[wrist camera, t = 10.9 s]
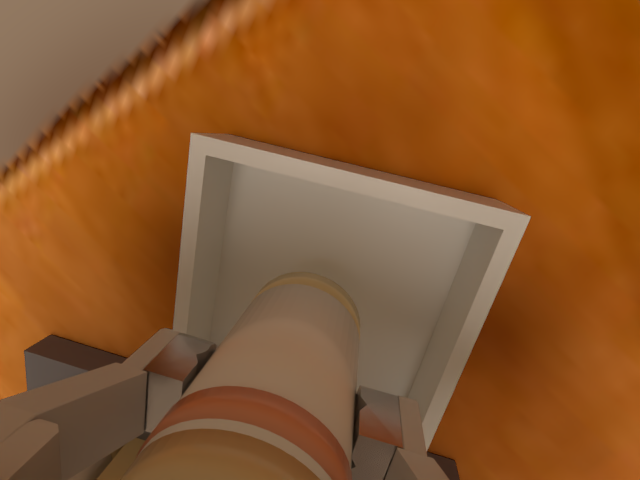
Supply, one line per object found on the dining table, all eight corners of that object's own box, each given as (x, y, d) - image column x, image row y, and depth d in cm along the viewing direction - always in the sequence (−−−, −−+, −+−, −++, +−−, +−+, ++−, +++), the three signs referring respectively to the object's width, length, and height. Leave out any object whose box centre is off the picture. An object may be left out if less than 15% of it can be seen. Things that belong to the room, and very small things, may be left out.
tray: (410, 415, 17) (417, 472, 14) (200, 351, 17) (167, 392, 15) (497, 199, 13) (531, 216, 10) (228, 133, 14) (191, 132, 11)
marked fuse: (375, 288, 11) (379, 550, 4) (346, 383, 12) (311, 709, 5) (259, 257, 11) (75, 451, 4) (243, 354, 13) (81, 622, 6)
